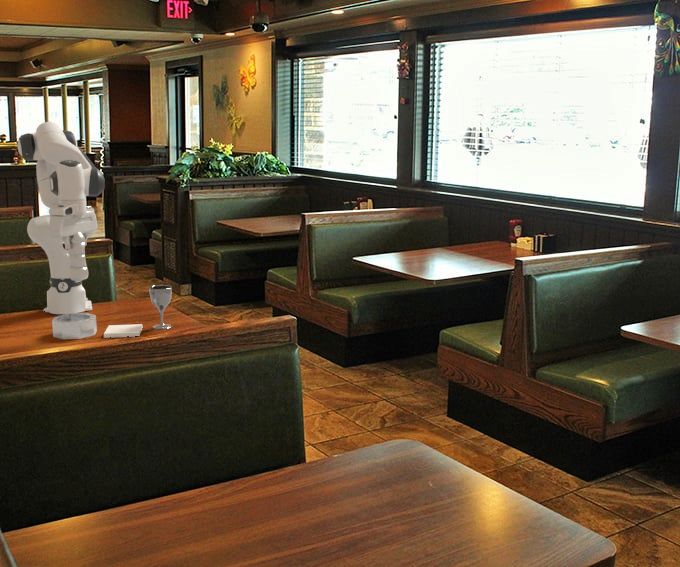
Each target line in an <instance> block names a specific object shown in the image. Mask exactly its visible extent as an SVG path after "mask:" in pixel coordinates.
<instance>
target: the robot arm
mask: <svg viewBox="0 0 680 567" xmlns="http://www.w3.org/2000/svg"><path fill="white" fill-rule="evenodd" d="M16 148H17V150H18V153H19V155H20V157H21V158H22V159H23V160H24V161H28V162H29V161H30V162H33V161H36V168H35V169H36V170H35V171H36V181H37V186H38V190H39V192H38V193H39V195H40V196H39V197H40V201H41V203H42V205H44V206H45V207H47V208H49V210H48V214H45V215H40V216H35V217H33V218H30V220H29V222H28V223H27V229H26V232H27V235H28V237H29V238H30V240H31V241H32V242H34V243H36V244H37V245H38V246H39V247H41V248H42V250H43V251H44V252H45V254H46V257H47V259H48V264H49V272H50V277H49V286H50V288H48V290H47V291H46V303H47V305H46V307H44V308H43V312H44V311H45V312H44V313H50V314H54V315H65V314H70V313H84V312H86V311H88V312H89V311H92V310H93V306H92V301H91V300H89V298H88V297H87V295H86V289H85V287H84V286H83V280H82V281H74V280H71V278H70V276H69V269H70V259H69V252H68V249H71V248H72V244H70V242H69V240H68V239H69V236H72V235H76V234H77V233H78V232H81V233H82V234H83V235H84V237H85V247H86V246H87V241H88V239H90V238H92V237H93V235H94V234H95V232H97V230H98V229H99V228H98V221H97V216H96V213H95V209H94V208H93V207H92V205H87V197H98V196H99V195H100V194H102V193H103V192H104V190H105V188H106V184H105V183H106V182H105V177H104V175H103V173H102V172H101V170H99V168H97V167H96V166H95V165H94V163H93V161H91V159H90V158H89V157H88V156H87V154H86V153H85V152H84V150H83V149H82V148H80V147H79V146H78V140H77V138H76V137H75V134H74V133H73V132H72V131H70V130H66V129H65V130H64V129H63V130H62V128H61V127H60V126H59V125H58V124H57V123H55V122H51V121H44V122H43V123H40V124H39V125H38V126H37V128H36V129H35V132H32V133H29V132H27V133H24V134H21V135H20V136H19V137H18V141H17V147H16ZM63 244H64V245H63Z"/></svg>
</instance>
